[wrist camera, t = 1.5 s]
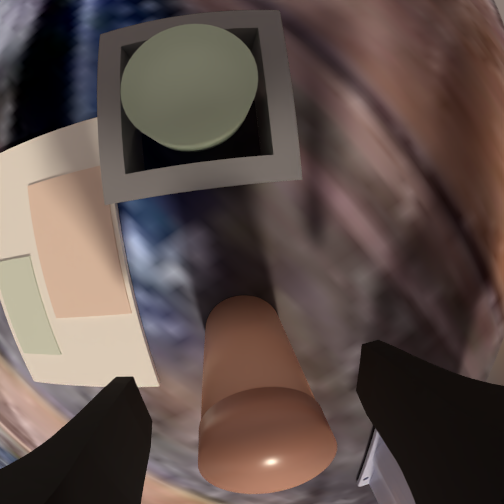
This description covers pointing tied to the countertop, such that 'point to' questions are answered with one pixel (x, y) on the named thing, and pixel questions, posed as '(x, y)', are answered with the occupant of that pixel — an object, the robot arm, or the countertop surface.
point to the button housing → (209, 172)
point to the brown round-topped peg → (257, 404)
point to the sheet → (67, 265)
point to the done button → (190, 87)
